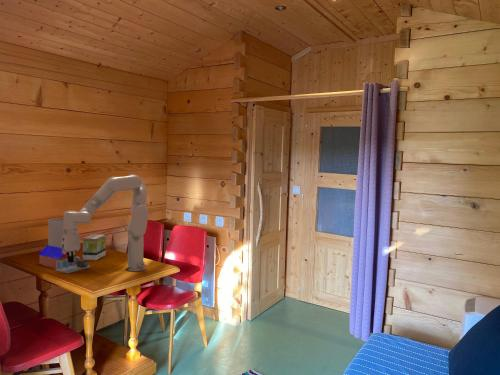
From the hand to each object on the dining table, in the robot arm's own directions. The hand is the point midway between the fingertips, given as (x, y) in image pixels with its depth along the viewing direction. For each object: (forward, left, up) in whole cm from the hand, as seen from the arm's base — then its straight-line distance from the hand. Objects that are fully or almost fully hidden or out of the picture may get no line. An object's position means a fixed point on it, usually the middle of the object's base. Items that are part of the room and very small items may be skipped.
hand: (70, 262), depth 234 cm
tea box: (+15, -30, -6) cm, 34 cm away
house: (+18, -4, -6) cm, 20 cm away
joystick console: (+3, -4, -6) cm, 7 cm away
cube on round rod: (0, -8, -4) cm, 9 cm away
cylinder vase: (+39, -20, -6) cm, 45 cm away
